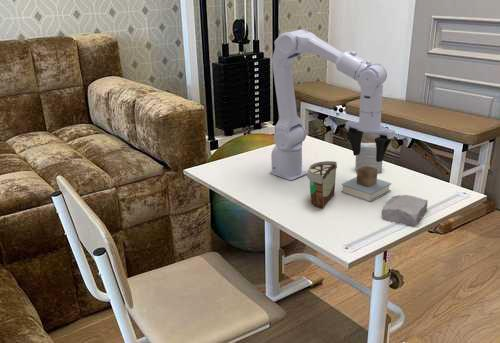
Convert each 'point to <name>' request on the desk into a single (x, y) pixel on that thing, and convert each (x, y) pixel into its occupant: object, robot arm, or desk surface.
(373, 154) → the medicine box
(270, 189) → the desk surface
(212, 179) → the desk surface
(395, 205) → the stone block
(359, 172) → the walnut block
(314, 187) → the food container
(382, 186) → the book
